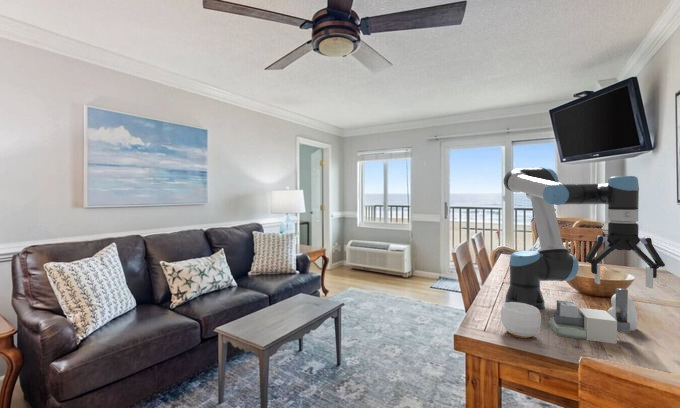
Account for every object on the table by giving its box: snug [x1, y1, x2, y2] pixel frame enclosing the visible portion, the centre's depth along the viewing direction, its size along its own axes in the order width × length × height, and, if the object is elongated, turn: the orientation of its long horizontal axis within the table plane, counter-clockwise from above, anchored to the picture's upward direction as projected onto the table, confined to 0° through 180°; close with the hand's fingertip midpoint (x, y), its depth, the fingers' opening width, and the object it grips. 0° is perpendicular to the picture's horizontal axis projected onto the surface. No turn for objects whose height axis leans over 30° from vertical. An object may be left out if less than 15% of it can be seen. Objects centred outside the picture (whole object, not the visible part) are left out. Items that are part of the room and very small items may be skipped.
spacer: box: [556, 300, 578, 318], centre depth 110 cm, size 5×5×4 cm
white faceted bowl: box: [500, 302, 542, 339], centre depth 108 cm, size 12×12×10 cm
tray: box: [549, 316, 586, 341], centre depth 110 cm, size 8×10×3 cm
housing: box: [577, 307, 618, 345], centre depth 107 cm, size 8×10×8 cm
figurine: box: [607, 293, 638, 331], centre depth 114 cm, size 7×8×12 cm
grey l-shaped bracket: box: [553, 287, 631, 334], centre depth 107 cm, size 20×3×14 cm, turn 67°
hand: (622, 285), depth 104 cm, fingers open, 13 cm apart
